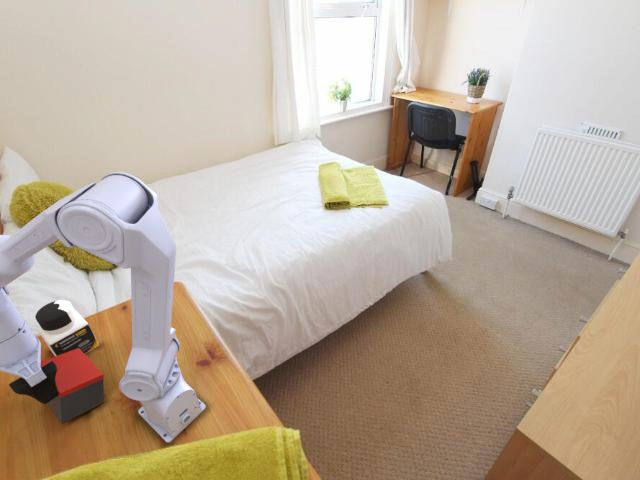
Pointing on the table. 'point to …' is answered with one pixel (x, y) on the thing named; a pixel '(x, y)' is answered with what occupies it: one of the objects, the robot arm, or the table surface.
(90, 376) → the grey and red box
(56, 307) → the medicine bottle
